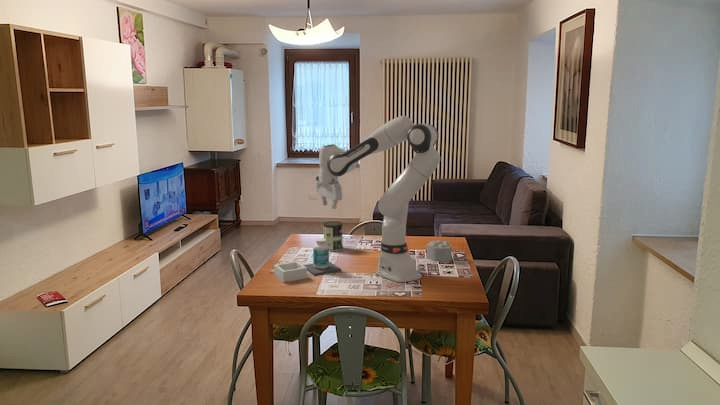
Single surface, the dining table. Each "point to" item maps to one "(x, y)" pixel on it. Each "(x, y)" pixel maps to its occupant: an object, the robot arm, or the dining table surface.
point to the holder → (290, 271)
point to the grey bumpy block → (439, 251)
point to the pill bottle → (321, 254)
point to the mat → (322, 271)
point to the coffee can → (333, 235)
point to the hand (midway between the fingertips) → (329, 206)
